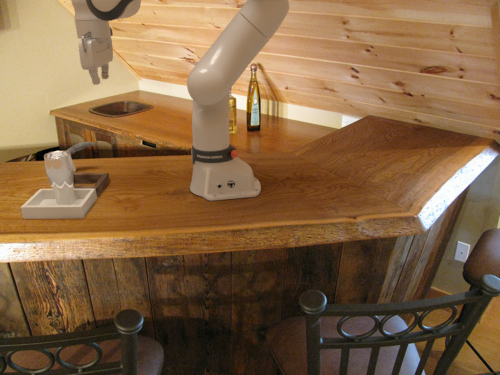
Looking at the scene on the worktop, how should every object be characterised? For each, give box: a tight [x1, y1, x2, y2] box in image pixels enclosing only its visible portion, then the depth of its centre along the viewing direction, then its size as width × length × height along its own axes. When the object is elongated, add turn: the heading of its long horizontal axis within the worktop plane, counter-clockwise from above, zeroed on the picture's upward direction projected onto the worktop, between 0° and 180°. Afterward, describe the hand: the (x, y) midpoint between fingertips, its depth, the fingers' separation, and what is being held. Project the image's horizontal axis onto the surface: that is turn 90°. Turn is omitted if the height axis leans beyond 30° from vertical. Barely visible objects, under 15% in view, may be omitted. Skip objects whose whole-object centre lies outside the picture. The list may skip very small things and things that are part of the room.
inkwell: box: [65, 141, 100, 173], centre depth 139 cm, size 9×18×10 cm, turn 114°
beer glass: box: [43, 150, 78, 205], centre depth 113 cm, size 7×7×15 cm
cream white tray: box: [20, 188, 98, 220], centre depth 114 cm, size 16×12×4 cm
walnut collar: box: [74, 172, 110, 198], centre depth 126 cm, size 12×12×3 cm
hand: (101, 81), depth 119 cm, fingers open, 8 cm apart
